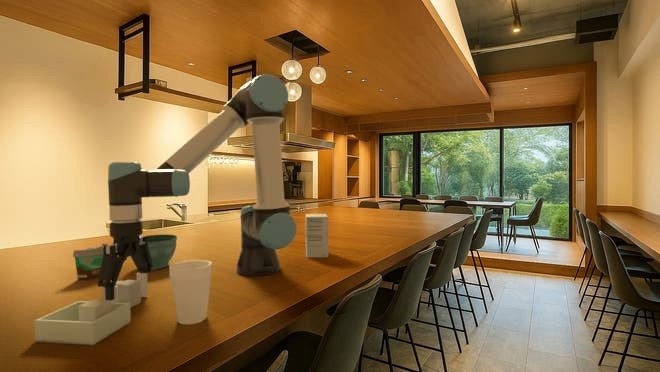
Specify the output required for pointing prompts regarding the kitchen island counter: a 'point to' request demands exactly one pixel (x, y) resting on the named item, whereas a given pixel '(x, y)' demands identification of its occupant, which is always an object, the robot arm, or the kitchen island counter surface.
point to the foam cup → (191, 289)
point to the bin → (80, 325)
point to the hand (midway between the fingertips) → (128, 303)
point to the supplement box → (316, 235)
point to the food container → (88, 262)
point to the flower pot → (161, 249)
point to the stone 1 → (93, 310)
